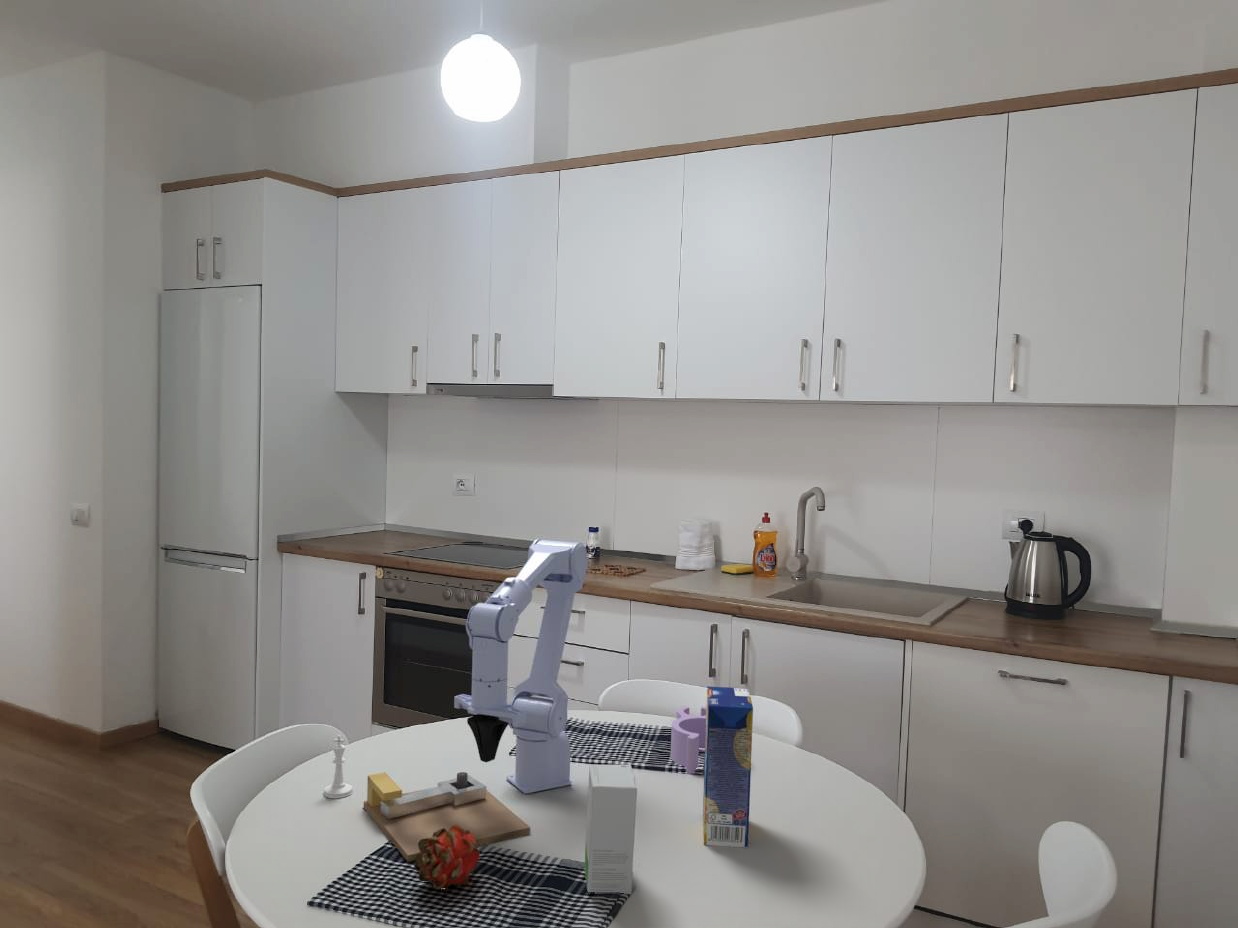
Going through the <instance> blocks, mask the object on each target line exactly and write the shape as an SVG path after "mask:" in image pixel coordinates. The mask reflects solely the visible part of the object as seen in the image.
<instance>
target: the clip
mask: <svg viewBox="0 0 1238 928" xmlns="http://www.w3.org/2000/svg"><path fill="white" fill-rule="evenodd" d="M706 709H707V706H705V705H702V706H701V707H700V715H692V714H690V706H687V705H685V706H681V707H679V708H677V709H676V719H675V720H673V721H672V722H671V733H670V736H671V737H670V739H671V740H670V760H671V759H672V760H673V761H674V762H675V763H677V764H678V765H681V766H684V767H686V769H685V770H686V772H687V773H686V772H685V773H686V774H689V775H693V774H694V773H693V772H694V771H695V770H696V768H697V767H698V768H699V752H700V751H699V747H700V748H705V738H706ZM692 773H693V774H692Z"/></svg>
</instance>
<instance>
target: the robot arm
mask: <svg viewBox="0 0 1238 928" xmlns="http://www.w3.org/2000/svg"><path fill="white" fill-rule="evenodd" d="M527 552H528V555H527V561H526V562H525V564H524V565H523V567H522V569H520V571H519V572H518V574H517V575H516V576H515V577H506V579H504V580H503V582H502V583H501V584H500V585H499V586H498V588H497V589H496V590H495V591H493V593H492V594H491V595H490V596H489V598H488V599H486V601H485V602H477V604H476V605H473V606H471V608H470V609H469V610H468V611H469V612H468V614H467V619H466V622H465V631H466V634H467V635H468V640H469V641H468V645H469V648H470V649H472V656H471V657H472V660H471V661H472V663H471V665H472V666H471V667H472V669H471V695H469V694H464V693H462V694H458V695H456V696H454V699H453V700H454V702H453V706H454V707H453V708H455V709H457V710H459V709H464V710H466V711H467V714H471V715H472V716H470V717H468V718H466V720H467V721H466V723H467V725H468V726H469V729H471V732H472V734H473V737H474V739H475V743H476V747H477V751H478V755H479V759H480V762H484V763H489V762H491V761H494V760H496V756H497V751H498V748H499V745H500V742H501V739H502V737H503V735H504V733H505V731H506V729H507V727H509V729H512V735H514V736H515V739H516V740H515V743H516V744H515V773H514V774H511V775H507V776H506V780H507V781H508V782H510V783H511V785H514V787H515V788H518V790H520V792H522V793H523V794H531V793H536V792H541V791H545V790H546V791H547V790H551V789H554V788H560V787H565V786H569V785H572V780H570V778H571V777H570V776H571V775H570V772H571V743H570V740H569V737H568V735H567V733H566V732H565V731H564V730H565V727H566V724H567V720H568V702H569V696H568V694H567V692H566V691H565V690H564V689H563V688H562V686H561V685H560V684H559V683H558V677H559V673H560V672H559V671H560V667H561V662H562V658H563V652H564V649H565V644H566V639H567V634H568V630H569V625H570V624H569V623H570V619H571V616H572V615H571V614H572V610H573V605H574V602H575V601H574V600H575V595H576V593H577V592H579V591H580V590H582V589H583V587H584V582H585V578H586V574H587V569H588V566H589V565H588V564H589V559H588V558H589V557H588V552H587V548H586V546H585V545H584V543H583V542H580V541H577V542H571V541H558V540H548V539H546V540H545V539H542V538H537V539H535V540H534V541H533V542H532V543H531V544H530V546H529V547H528V551H527ZM538 585H539V586H540V587H542V588H544V589H545V590H546V592H547V597H546V601H545V606H544V610H543V615H542V619H541V623H540V624H541V625H540V628H539V633H538V638H537V642H536V647H535V651H534V655H533V660H532V665H531V668H530V675H529V676H528V678H526V679H524V680H523V681H521V682H520V683H518V684H516V685H515V687H514V690H513V694H512V697H511V699H510V700H509V702H508V667H509V664H508V663H509V640H511V638H512V637H513V636H514V633H515V630H516V627H517V624H518V623H519V617H520V615H521V614H522V612H524V610H525V609H526V608H527V607H529V605H530V603H531V602H532V599H533V592H532V591H533V590H534V589H535V588H536V587H537V586H538ZM543 697H544V698H543Z"/></svg>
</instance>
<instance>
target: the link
mask: <svg viewBox="0 0 1238 928" xmlns="http://www.w3.org/2000/svg"><path fill="white" fill-rule="evenodd" d="M421 790H422V791H420V790H417V791H418V792H415V791H413V792H414V793H410V792H409V793H410V794H406V795H402V797H401V798H396V799H391V800H386V801H383V800H382V801H381V813H382V814H383V815H384V816H385V817H386V818H388V819H392V818H396V817H399V816H403V815H407V814H411V813H415V812H419V811H422V810H426V809H430V808H434V807H438V806H441V805H445V804H449V803H451V804H452V805H454V806H457V805H461V804H465V803H469V802H473V801H476V800H480V799H484V798H486V790H487V785H486V784H483V783H482V782H480V781H479V780H477V779H476V778H474V777H473V776H471V775H469V774H468V780H467V788H463V789H459V790H458V789H457V777H456V778H451V779H448V780H447V779H446V780H444V781H440V782H437V786H435V787H430V788H428V789H427V788H426V790H425V789H421Z"/></svg>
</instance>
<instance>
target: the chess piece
mask: <svg viewBox="0 0 1238 928" xmlns="http://www.w3.org/2000/svg"><path fill="white" fill-rule="evenodd" d="M333 742H335V743H337V744H336V745H334V746H333V747H332V749H333V752H334V756H335V758H334V759H332V763H333V764H335V771H334V777H333V782H332V783H331V784H330V785H327V786H326V787H324V788H323V796H324V797H326V798H329V799H342V798H346V797H350V795H352V794H353V793H354V788H353V786H352V785H351V784H349V783H346V781H344V774H343V773H344V772H343V763H345V762H346V759H345V758H344V757H343V756H344V752H345V750H346V745H344V743H345V739H343V738H342V735H340V734H339V735H337V738H334V740H333ZM342 743H343V744H342Z"/></svg>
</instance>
